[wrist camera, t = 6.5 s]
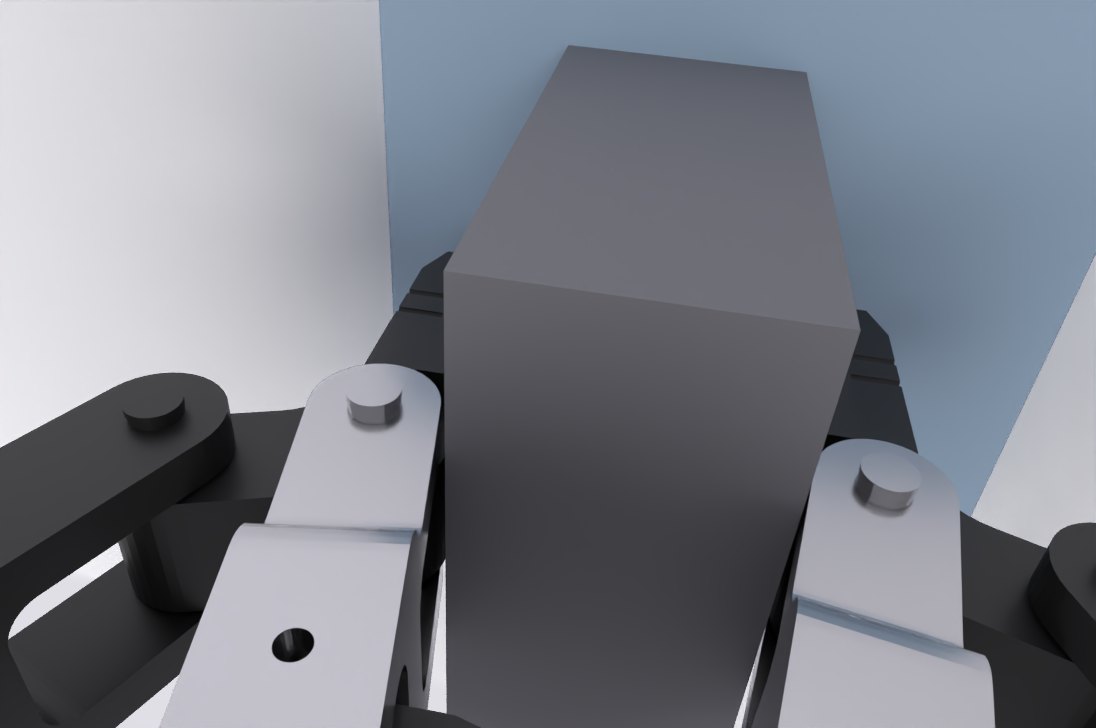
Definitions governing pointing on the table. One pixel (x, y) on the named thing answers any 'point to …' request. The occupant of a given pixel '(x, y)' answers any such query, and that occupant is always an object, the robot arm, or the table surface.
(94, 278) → the table surface
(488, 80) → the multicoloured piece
